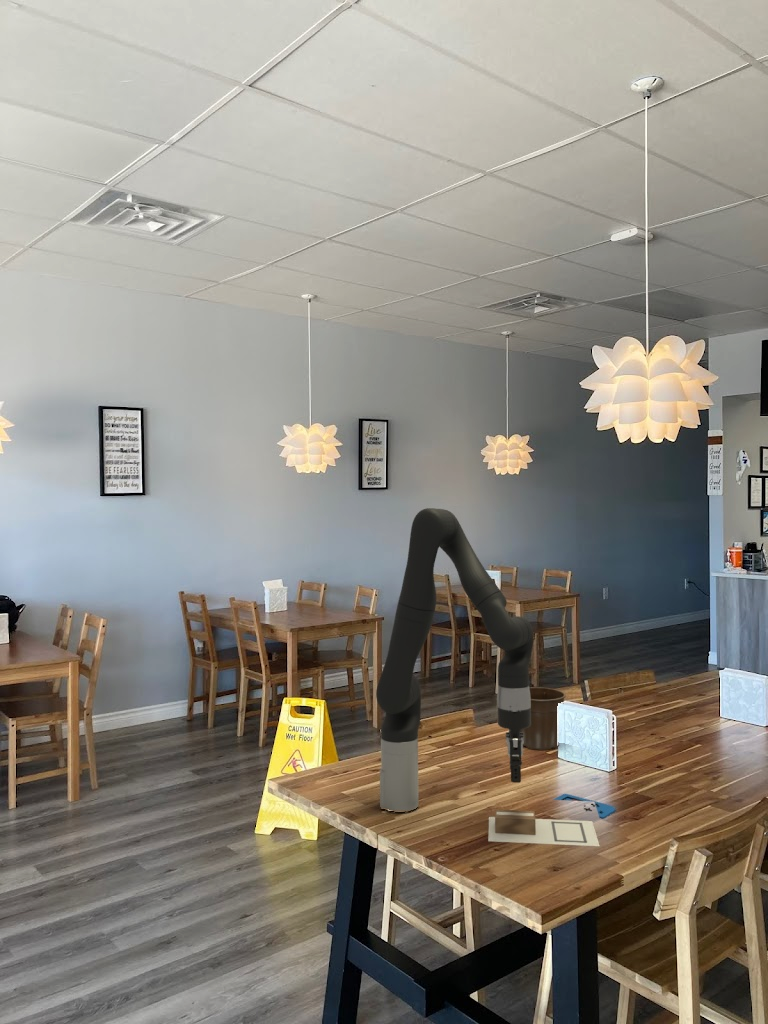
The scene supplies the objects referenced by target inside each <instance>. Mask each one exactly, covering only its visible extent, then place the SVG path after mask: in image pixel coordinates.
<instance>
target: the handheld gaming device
mask: <svg viewBox="0 0 768 1024" xmlns="http://www.w3.org/2000/svg"><path fill="white" fill-rule="evenodd" d="M552 800H553V801H568V802H569V801H574V802H575V801H577V802H594V803H590V806H592V807H593V808H596V810H597V811H596V812H597V814H598V817H599V819H600V818H601V820H605V819H606V818H608V817H609V816H611V815H612V814H614V813H615V812H616V807H615V806H613V805H611V804H606V803H604V802H603V803H602V802H599V801H596V800H592V799H587V798H583V797H580V796H576V795H572V794H568V793H562V794H561V795H559V796H557V797H555V798H553V799H552ZM583 807H586V805H585V804H584V805H583ZM583 810H585V812H588V811H589V812H593V810H592V809H591V807H588V808H583ZM613 812H614V813H613ZM610 814H611V815H610ZM607 816H608V817H607Z"/></svg>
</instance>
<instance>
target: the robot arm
mask: <svg viewBox="0 0 768 1024" xmlns="http://www.w3.org/2000/svg"><path fill="white" fill-rule="evenodd" d="M439 548H440V549H442V551H443V552H444V553H445V554H446V555H447V556H448V557H449V559H450V561H451V562H452V563H453V565H454V568H455V570H456V571H457V574H458V578H459V581H460V583H461V587H462V588H463V591H464V593H465V594H466V596H467V598H468V599H469V600H470V602H471V603H472V605H473V606H474V608H475V609H476V610H477V612H478V613H479V614H480V617H481V618H482V621H483V625H484V627H485V629H486V632H487V634H488V636H489V638H490V639H491V641H492V642H493V644H494V645H496V647H498V648H499V649H500V650H503V651H505V652H504V656H503V658H502V659H501V660H500V661H499V662H498V666H497V694H496V695H497V697H496V698H497V699H496V700H497V703H496V704H497V705H496V706H497V725H498V726H499V727H500V728H503V729H508V732H507V731H506V732H505V743H506V747H507V756H508V757H509V769H510V782H511V783H517V784H519V783H521V781H522V777H521V775H522V774H521V773H522V770H521V768H522V765H523V761H522V757H523V756H524V746H523V743H524V737H523V733H521V732H520V729H525V728H528V727H530V725H531V697H530V689H529V687H530V668H529V667H530V666H529V665H530V662H531V658H532V657H531V656H532V651H533V647H534V630H533V627H532V625H531V623H530V621H529V620H528V619H527V618H526V617H523V616H518V615H517V616H512V617H510V615H509V614H508V612H507V610H506V606H507V603H508V601H507V599H506V597H505V595H504V594H503V591H501V590H500V588H499V587H498V585H497V583H495V581H494V580H493V579H492V576H490V574H489V573H488V571H487V570H486V568H485V567H484V566H483V564H482V562H481V560H480V559H479V558H478V556H477V553H476V552H475V551H474V549H473V547H472V545H471V544H470V541H469V540H468V537H467V536H466V533H465V531H464V530H463V528H462V526H461V524H460V522H459V520H458V518H457V517H456V516H455V514H454V513H453V512H451V511H450V510H448V509H444V508H434V507H433V508H428V507H427V508H423V509H421V510H420V511H419V512H417V514H415V516H414V518H413V520H412V524H411V529H410V534H409V545H408V554H407V561H406V567H405V571H404V575H403V581H402V586H401V590H400V594H399V597H398V601H397V604H396V605H397V606H396V611H395V615H394V622H393V626H392V630H391V635H390V641H389V647H388V651H387V656H386V659H385V663H384V666H383V669H382V671H381V673H380V674H381V675H380V677H379V680H378V683H377V687H376V690H375V694H376V695H375V698H376V701H377V704H378V706H379V708H380V709H381V710H382V711H383V712H384V713H385V717H384V719H383V720H384V721H383V722H382V724H381V726H380V764H381V765H380V770H379V808H380V807H383V808H387V809H389V810H393V811H408V810H413V809H416V808H417V807H418V808H419V729H420V724H421V710H422V709H421V708H422V707H421V706H422V691H421V686H420V682H419V681H418V679H417V677H416V676H415V675H414V670H415V666H416V663H417V660H418V657H419V654H420V653H421V651H422V648H423V647H424V645H425V642H426V640H427V639H428V635H429V634H430V632H431V631H430V630H431V628H432V624H433V621H434V620H433V619H434V617H435V611H436V608H437V607H436V606H437V589H436V583H435V578H434V577H435V576H434V575H435V574H434V573H435V572H434V568H435V563H436V559H437V554H438V550H439ZM418 808H417V809H418ZM417 809H416V810H417Z"/></svg>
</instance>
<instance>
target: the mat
mask: <svg viewBox="0 0 768 1024" xmlns="http://www.w3.org/2000/svg"><path fill="white" fill-rule="evenodd" d="M535 824H536V835H525V834H503V833H495V816H489V817H488V838H487V839H488V840H487V841H488V842H493V843H495V842H496V843H497V842H498V843H499V842H500V843H518V844H538V845H557V846H559V845H560V846H561V845H563V846H565V845H566V846H582V847H600V844H599V839H598V836H597V833H596V830H595V827H594V822H593V820H573V819H549V818H546V819H545V818H535Z"/></svg>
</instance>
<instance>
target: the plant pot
mask: <svg viewBox="0 0 768 1024" xmlns="http://www.w3.org/2000/svg"><path fill="white" fill-rule="evenodd" d="M529 689H530V697H531V725H530V727H528V728H525V729H520V732H521V733H523V737H524V743H523V747H526V748H527V749H529V748H530V749H529V750H531V749H532V750H535V751H536V750H537V751H545V750H546V751H548V750H549V751H550V750H551V749H556V748H558V747H557V706H558V703H561V702H564V701H565V698H566V693H565V692H564V691H562V690H559V689H556V688H549V687H540V686H539V687H538V686H533V687H532V686H531V687H530V686H529Z"/></svg>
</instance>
